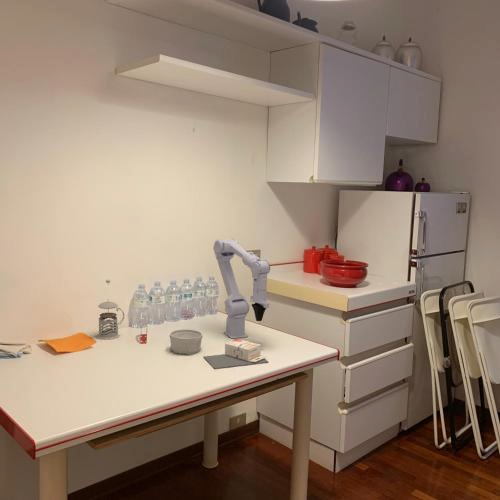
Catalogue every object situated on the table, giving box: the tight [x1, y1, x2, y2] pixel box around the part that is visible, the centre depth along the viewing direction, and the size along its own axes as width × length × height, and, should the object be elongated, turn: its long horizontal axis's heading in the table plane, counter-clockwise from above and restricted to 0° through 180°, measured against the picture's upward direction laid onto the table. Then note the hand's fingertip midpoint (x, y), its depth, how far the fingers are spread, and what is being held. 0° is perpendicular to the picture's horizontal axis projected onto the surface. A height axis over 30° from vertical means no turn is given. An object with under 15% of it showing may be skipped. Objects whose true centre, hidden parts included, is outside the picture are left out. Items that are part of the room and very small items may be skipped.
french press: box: [95, 279, 125, 341], centre depth 217 cm, size 10×12×25 cm
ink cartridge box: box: [224, 338, 267, 362], centre depth 198 cm, size 9×5×15 cm
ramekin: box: [169, 328, 203, 355], centre depth 204 cm, size 13×13×7 cm
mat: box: [203, 353, 270, 370], centre depth 195 cm, size 13×22×1 cm, turn 113°
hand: (258, 320), depth 214 cm, fingers closed
